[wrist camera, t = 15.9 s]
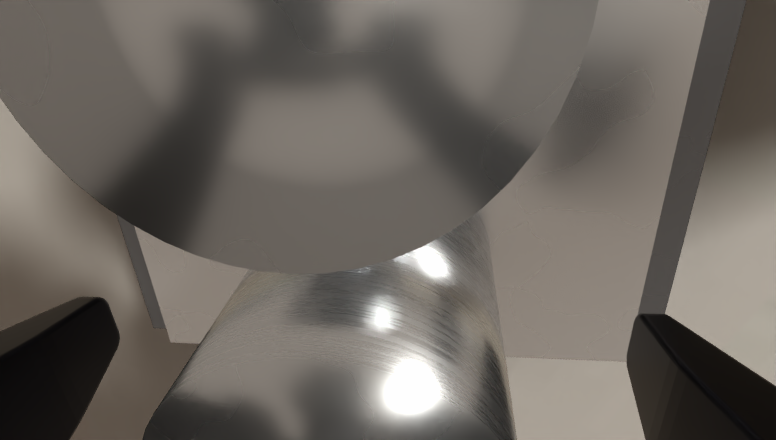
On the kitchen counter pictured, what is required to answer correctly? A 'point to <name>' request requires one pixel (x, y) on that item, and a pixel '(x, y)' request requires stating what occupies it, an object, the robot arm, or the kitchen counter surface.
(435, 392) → the cylinder
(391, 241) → the cylinder
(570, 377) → the kitchen counter surface
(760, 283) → the kitchen counter surface
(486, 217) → the dial scale
